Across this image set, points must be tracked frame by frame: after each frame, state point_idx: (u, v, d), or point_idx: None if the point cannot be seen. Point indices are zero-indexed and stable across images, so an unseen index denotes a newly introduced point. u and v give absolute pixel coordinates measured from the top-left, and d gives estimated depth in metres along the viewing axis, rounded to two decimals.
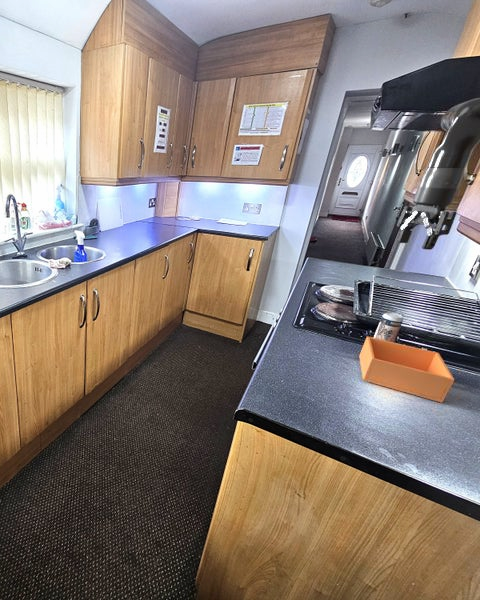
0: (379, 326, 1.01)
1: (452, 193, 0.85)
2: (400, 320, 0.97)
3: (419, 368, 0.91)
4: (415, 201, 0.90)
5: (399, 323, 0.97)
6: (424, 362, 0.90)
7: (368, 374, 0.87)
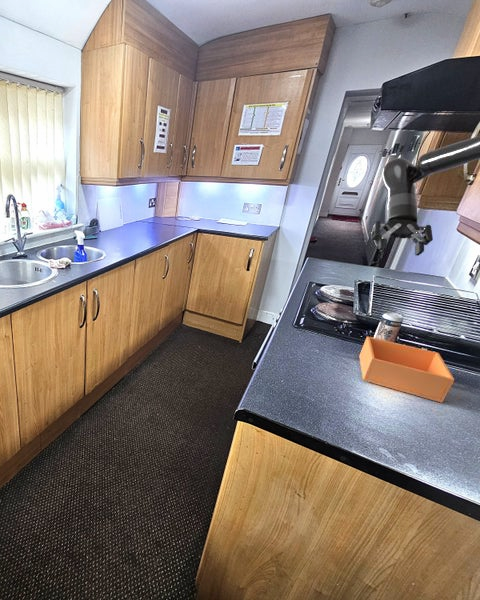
0: (379, 326, 1.01)
1: (388, 211, 1.07)
2: (400, 320, 0.97)
3: (419, 368, 0.91)
4: None
5: (399, 323, 0.97)
6: (424, 362, 0.90)
7: (368, 374, 0.87)
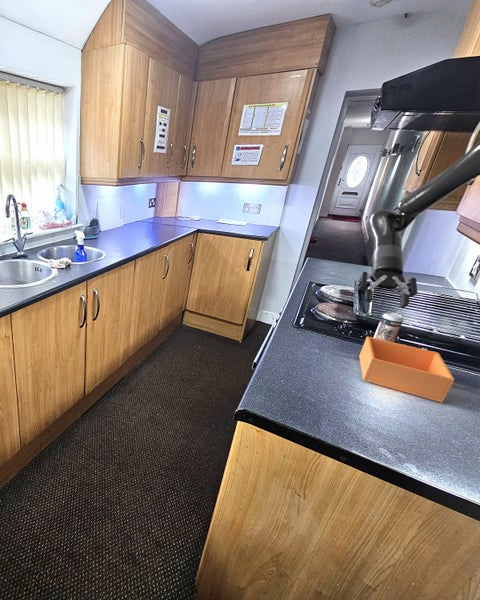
0: (379, 326, 1.01)
1: (375, 262, 1.10)
2: (400, 320, 0.97)
3: (419, 368, 0.91)
4: None
5: (399, 323, 0.97)
6: (424, 362, 0.90)
7: (368, 374, 0.87)
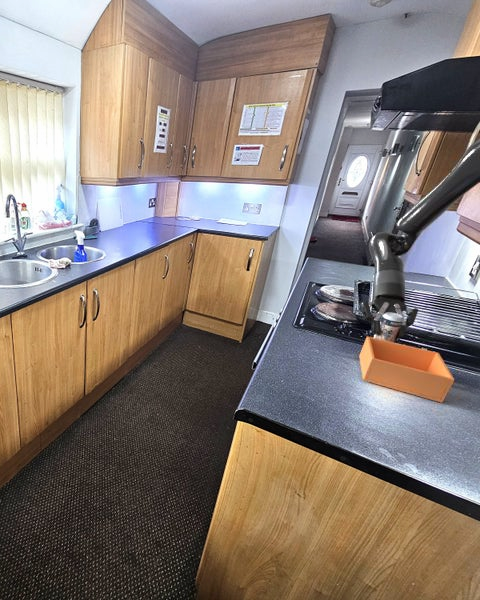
0: None
1: (376, 288, 1.05)
2: (400, 320, 0.97)
3: (419, 368, 0.91)
4: None
5: (399, 323, 0.97)
6: (424, 362, 0.90)
7: (368, 374, 0.87)
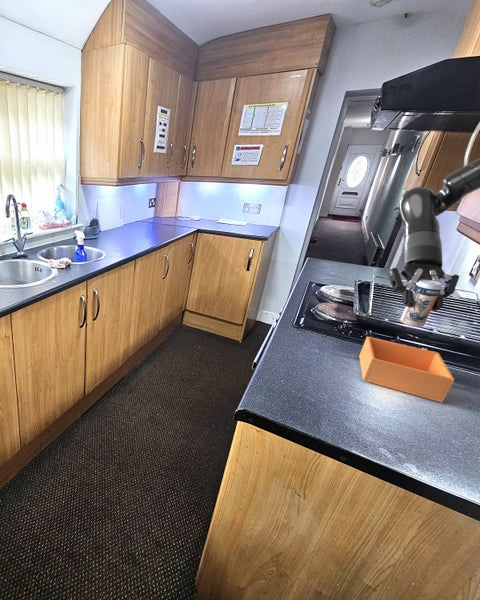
0: None
1: (406, 253, 0.90)
2: (438, 288, 0.81)
3: (419, 368, 0.91)
4: None
5: (437, 291, 0.82)
6: (424, 362, 0.90)
7: (368, 374, 0.87)
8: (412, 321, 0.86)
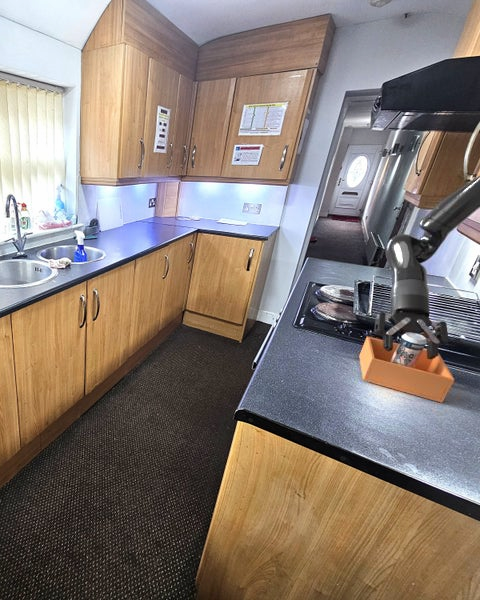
0: (398, 348, 0.87)
1: (395, 300, 0.90)
2: (423, 342, 0.83)
3: (419, 368, 0.91)
4: None
5: (422, 346, 0.83)
6: (424, 362, 0.90)
7: (368, 374, 0.87)
8: None
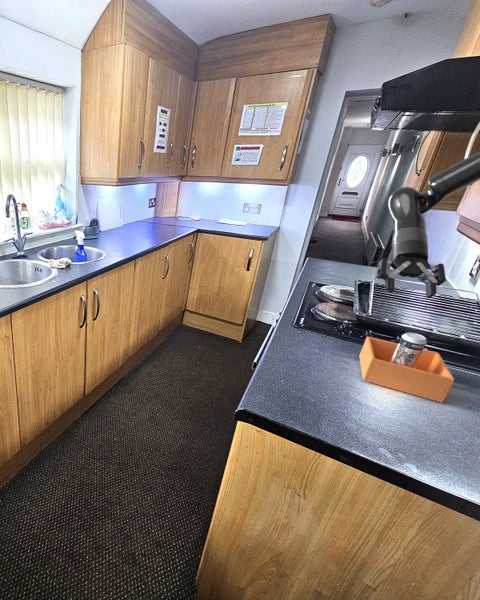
0: (398, 348, 0.87)
1: (396, 247, 0.97)
2: (423, 342, 0.83)
3: (419, 368, 0.91)
4: None
5: (422, 346, 0.83)
6: (424, 362, 0.90)
7: (368, 374, 0.87)
8: None
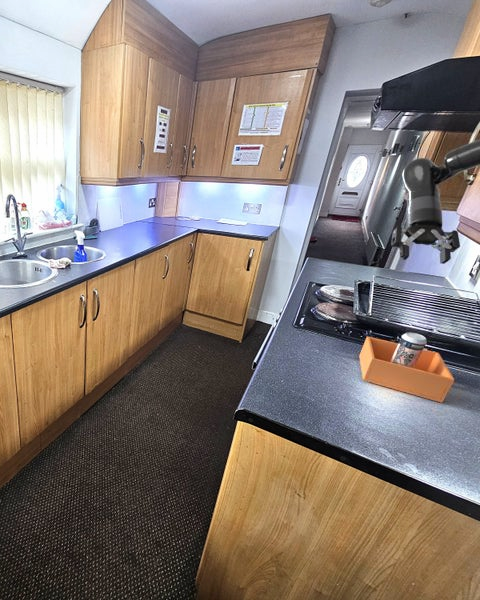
0: (398, 348, 0.87)
1: (410, 216, 0.99)
2: (423, 342, 0.83)
3: (419, 368, 0.91)
4: None
5: (422, 346, 0.83)
6: (424, 362, 0.90)
7: (368, 374, 0.87)
8: None
